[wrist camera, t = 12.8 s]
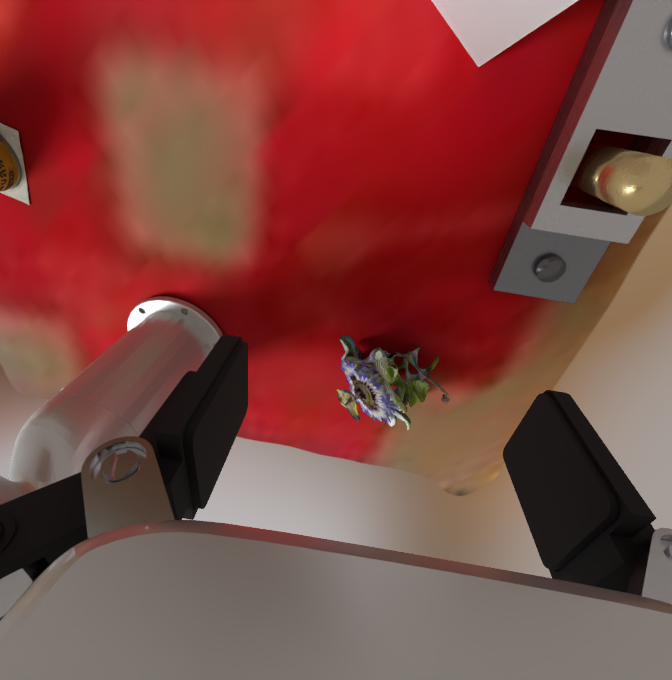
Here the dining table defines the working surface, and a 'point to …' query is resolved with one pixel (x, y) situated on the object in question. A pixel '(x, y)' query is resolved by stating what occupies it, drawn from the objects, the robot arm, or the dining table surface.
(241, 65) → the dining table surface
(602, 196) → the brass pin
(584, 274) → the grey long rectangular block
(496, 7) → the milk
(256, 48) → the dining table surface
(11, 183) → the condiment
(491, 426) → the dining table surface
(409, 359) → the passion flower
